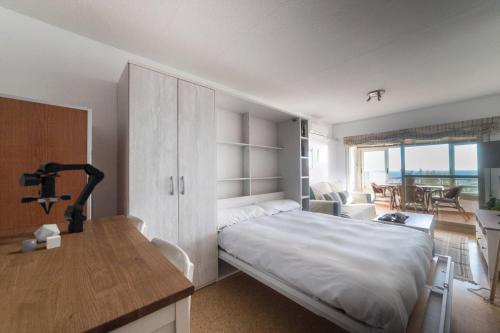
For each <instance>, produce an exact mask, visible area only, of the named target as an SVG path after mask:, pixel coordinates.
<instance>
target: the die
mask: <svg viewBox="0 0 500 333" xmlns="http://www.w3.org/2000/svg"><path fill="white" fill-rule="evenodd" d="M60 233H61V232H60V230H59V228H58V225H57V224H56V223H53V224H51V223H50V224H43V225H41V226H40V227H39V228H38V229H37V230H36V231H34V232H33V235H34V236H35V239H37V241H38V243H39V242H40V243H43V242H44V243H45V242H47V237H52V236H58V235H60Z"/></svg>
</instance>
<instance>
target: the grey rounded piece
mask: <svg viewBox="0 0 500 333" xmlns="http://www.w3.org/2000/svg"><path fill="white" fill-rule="evenodd" d="M37 241H38V240H37V238H30V239H26V240H22V241H21V253H30V252H33V251H36V250H37Z"/></svg>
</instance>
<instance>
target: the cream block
mask: <svg viewBox="0 0 500 333" xmlns="http://www.w3.org/2000/svg"><path fill="white" fill-rule="evenodd" d="M61 240H62V238H61V235H60V234H58V235H57V236H52V237H47V241H46V249H47V250H50V249H53V248H58V247H61Z"/></svg>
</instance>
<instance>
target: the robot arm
mask: <svg viewBox="0 0 500 333" xmlns="http://www.w3.org/2000/svg"><path fill="white" fill-rule="evenodd" d="M63 171H64V172H65V171H84V173H85V174H86V175H87V182H86V185H85V186H84V188H83V189H82V191H81V192H80V194H79V196H78V197H77V198H76V200H75V202H74V203H73V204H72V205H70V204H69V205H67V207H66V209H65V210H64V213H63V216H64V218H65V219H67V221H68V222H69V223H68V225H67V232H68V234H73V233H81V232H84V230H85V229H84V224H85V223H84V222H85V221H86V220H87V218H88V217H87V216H86V215H84V211H85V210H84V208H85V207H84V206H85V204H86V203H87V202H88V199H89V198H90V196H91V195H92V193H93V191H94V190H95V188H96V186H97V185H99V184H100V183H101V182H102V181H103V180H104V178H105V176H106V175H105V173H104V172H103V171H101V170H100V169H98V167H95V166H93V165H92V164H91V163H69V164H68V163H58V162H53V161H52V162H42V163H40V164H39V167H38V168H37V169H36V170H35V171H34V172H32V173H28V172H27V173H26V172H22V173H21V176H20V177H19V179H18V185H19V186H20V187H21V188H23V187H24V188H25V187H38V186H39V185H40V189H38V191H37V195H38V197H37V196H36V197H35V195H33V196H32V195H30V196H23V197H22V198H21V199H20V201H21V202H20V203H21V204H30V203H31V202H37V204H40V206H41V208H43V211H44V212H45V214H46V215H49V214H50V212H51V209H52V208H53V205H54V204H55V203H57V202H58V200H61V201H70V200H72V194H70V193H69V194H66V193H65V194H61V195H57V191H56V188H57V187H56V183H57V182H56V180H57V179H56V178H61V177H62V176H61V175H60V174H59V172H63ZM48 201H49V202H48Z"/></svg>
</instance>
